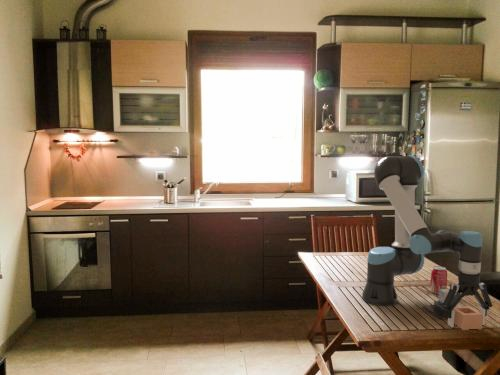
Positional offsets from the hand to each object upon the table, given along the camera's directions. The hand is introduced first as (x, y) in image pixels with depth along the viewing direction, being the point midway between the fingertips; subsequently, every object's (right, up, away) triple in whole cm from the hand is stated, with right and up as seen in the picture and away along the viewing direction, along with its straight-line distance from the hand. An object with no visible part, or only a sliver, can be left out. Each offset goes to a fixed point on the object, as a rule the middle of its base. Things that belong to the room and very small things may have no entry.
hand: (465, 325), depth 171 cm
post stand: (-3, +1, +13) cm, 13 cm away
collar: (0, 0, 0) cm, 0 cm away
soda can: (+5, +4, +37) cm, 37 cm away
